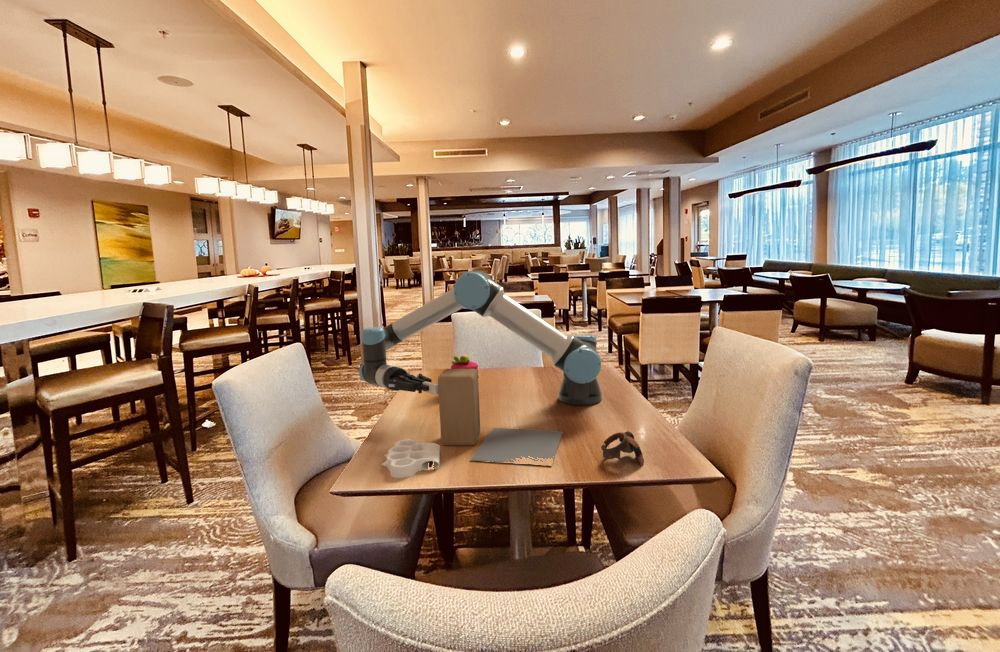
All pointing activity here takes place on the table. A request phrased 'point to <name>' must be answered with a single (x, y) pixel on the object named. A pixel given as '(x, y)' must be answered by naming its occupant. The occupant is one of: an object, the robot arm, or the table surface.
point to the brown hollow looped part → (622, 446)
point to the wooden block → (459, 406)
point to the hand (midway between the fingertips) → (437, 389)
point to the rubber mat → (518, 445)
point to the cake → (464, 364)
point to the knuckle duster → (411, 457)
